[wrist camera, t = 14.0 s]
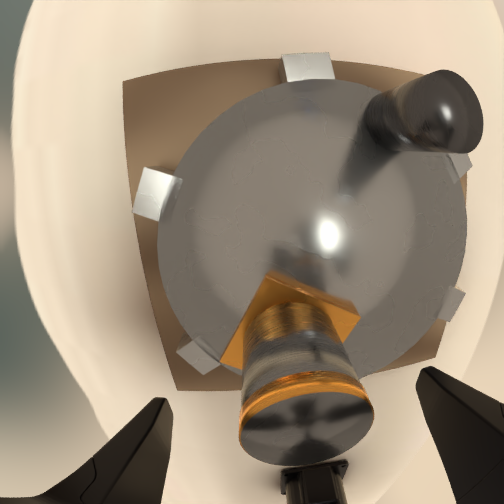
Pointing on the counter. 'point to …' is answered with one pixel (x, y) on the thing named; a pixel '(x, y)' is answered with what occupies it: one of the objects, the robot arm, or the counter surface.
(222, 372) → the sprocket base
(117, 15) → the counter surface
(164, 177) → the sprocket
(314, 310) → the roller
